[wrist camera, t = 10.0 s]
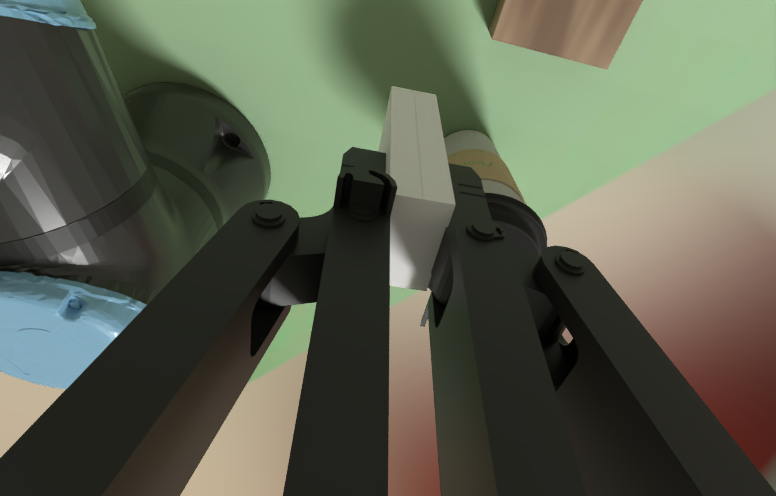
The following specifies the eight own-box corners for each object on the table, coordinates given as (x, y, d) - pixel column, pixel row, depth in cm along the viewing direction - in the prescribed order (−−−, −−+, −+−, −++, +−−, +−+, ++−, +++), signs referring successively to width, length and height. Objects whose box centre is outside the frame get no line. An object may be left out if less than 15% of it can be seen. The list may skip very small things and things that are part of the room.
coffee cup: (467, 88, 40) (486, 182, 28) (539, 157, 43) (582, 266, 32) (391, 162, 44) (381, 269, 33) (462, 219, 48) (475, 334, 36)
